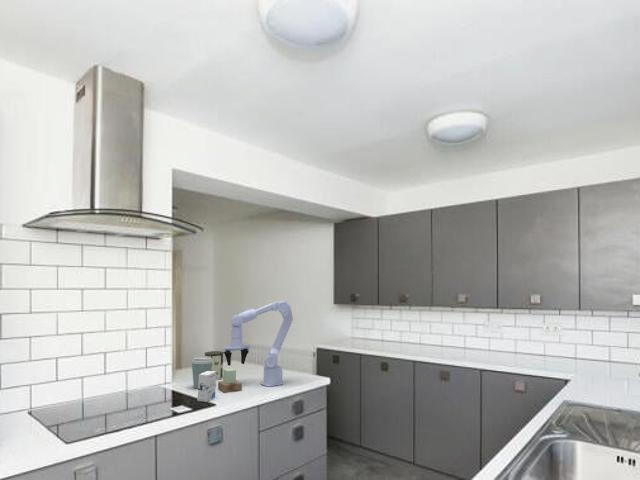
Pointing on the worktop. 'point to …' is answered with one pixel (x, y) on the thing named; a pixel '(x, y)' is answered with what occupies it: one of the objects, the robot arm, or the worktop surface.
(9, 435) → the worktop surface
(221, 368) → the coffee can
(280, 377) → the robot arm
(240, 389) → the walnut base
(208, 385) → the ink box
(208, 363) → the disposable coffee cup
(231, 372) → the green block
